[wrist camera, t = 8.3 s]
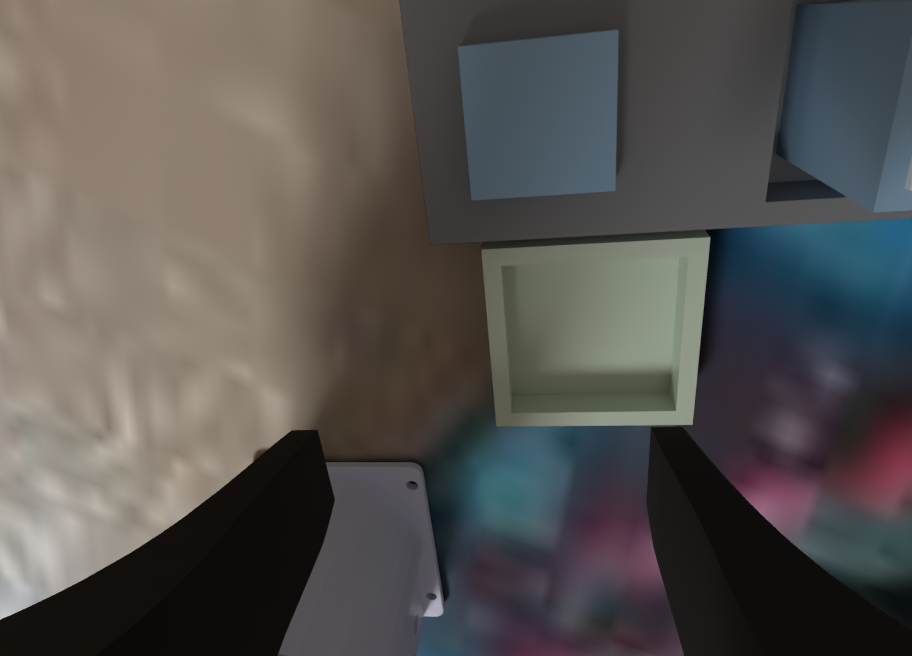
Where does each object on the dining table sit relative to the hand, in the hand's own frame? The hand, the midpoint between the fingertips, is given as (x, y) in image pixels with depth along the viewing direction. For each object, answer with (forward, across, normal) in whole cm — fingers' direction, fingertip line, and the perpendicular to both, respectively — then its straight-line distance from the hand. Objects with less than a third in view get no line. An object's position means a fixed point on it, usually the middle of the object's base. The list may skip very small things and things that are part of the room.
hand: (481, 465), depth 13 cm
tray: (+10, -3, +2) cm, 10 cm away
